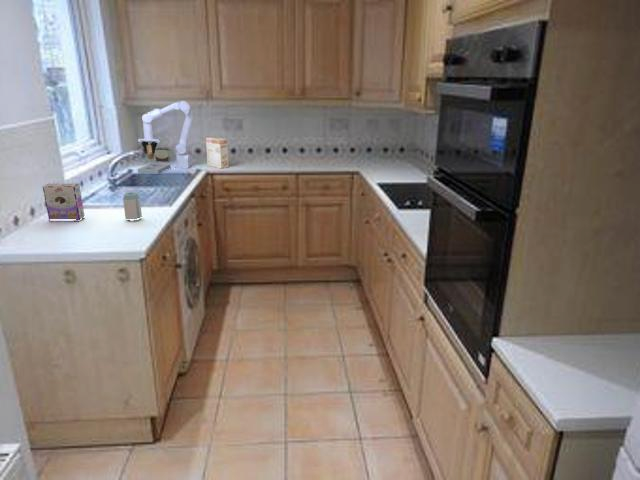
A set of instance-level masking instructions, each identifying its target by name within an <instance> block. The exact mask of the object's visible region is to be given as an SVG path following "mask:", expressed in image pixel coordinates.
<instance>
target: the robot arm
mask: <svg viewBox="0 0 640 480" xmlns="http://www.w3.org/2000/svg"><path fill="white" fill-rule="evenodd" d="M175 110H177V111H180V110H181V111H182V113H183V114H184V116H185V117H184V121H183V126H182V129H181V133H180V137H179V140H178V142H177V144H176V146H175V150H176V153H175V159H176V166H174V168H175V169H176V168H177V169H190V168H191V167H193V165H192V155H191V154H188V153H187V143H188V138H189V134H190V131H191V127H192V123H193V119H194V114H193V110H192V107H191V106H190V104H189V103H188V102H187V101H185V100H180V101H177V102H174V103H171V104H169V105H167V106H165V107H163V108H161V109H160V108H154V109H153V110H151V111H147V112H146V113H144V114H142V115H141V120H142V128H143V131H142V132H143V138H138V139H137V141H138V143H141V146H142V148H143V149H144V152H145V154H147V146H146V145H148V144H149V143H150V144H151V147H152V154H154V155H155V149H156V147H157V145H158V143H161V140H160V139H157V138H154V133H153V125H152V121H155V120H156V121H157V120H158V119H160V118H162V117H163V115H165V114H167V113H169V112H171V111H175Z"/></svg>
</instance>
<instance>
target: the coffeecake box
mask: <svg viewBox="0 0 640 480" xmlns="http://www.w3.org/2000/svg"><path fill="white" fill-rule="evenodd" d="M205 146H206V161H207V162H206V163H207V167H213V168H218V169H227V168H229V148H228V138H224V137H223V138H222V137H216V136H215V137H214V136H209V137H205Z"/></svg>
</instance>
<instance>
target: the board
mask: <svg viewBox="0 0 640 480" xmlns="http://www.w3.org/2000/svg"><path fill="white" fill-rule="evenodd" d="M169 168H170V169H171V164H162V163H159V164H158V163H149V164H146V165H144V166H142V167H140V168H137V173H138V174H155V175H159V174H161V173H163V172H162V171H164V170H166V169H168V170H170V169H169ZM166 171H167V170H166ZM164 172H165V171H164Z"/></svg>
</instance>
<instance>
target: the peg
mask: <svg viewBox="0 0 640 480" xmlns="http://www.w3.org/2000/svg"><path fill="white" fill-rule="evenodd" d="M146 146H147V153H146V155H147V159H149V160H154V159H155V153H154V154H152V147H151V144H149V143H148V145H146Z"/></svg>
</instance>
